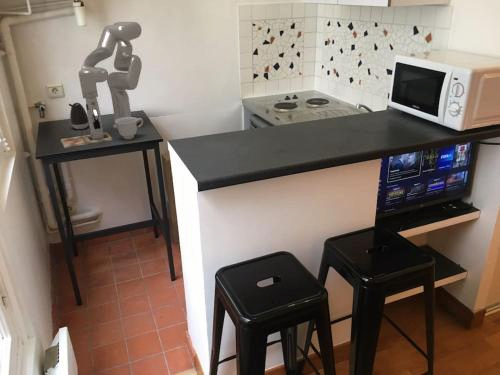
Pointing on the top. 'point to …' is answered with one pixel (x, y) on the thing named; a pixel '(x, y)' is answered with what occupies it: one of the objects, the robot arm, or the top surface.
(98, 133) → the travel mug
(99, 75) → the robot arm
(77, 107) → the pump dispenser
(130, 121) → the teacup
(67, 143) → the beige flat rectangular frame
